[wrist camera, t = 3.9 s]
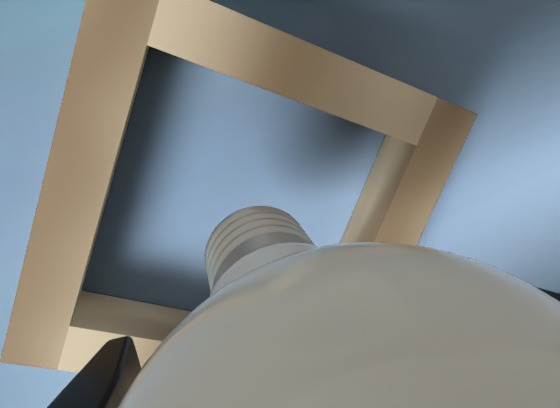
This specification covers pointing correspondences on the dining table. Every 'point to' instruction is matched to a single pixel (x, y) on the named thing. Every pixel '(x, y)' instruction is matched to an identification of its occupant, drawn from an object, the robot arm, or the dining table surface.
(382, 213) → the wooden picture frame
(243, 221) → the lightbulb
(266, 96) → the dining table surface
